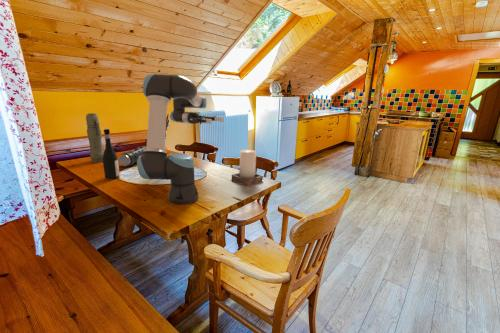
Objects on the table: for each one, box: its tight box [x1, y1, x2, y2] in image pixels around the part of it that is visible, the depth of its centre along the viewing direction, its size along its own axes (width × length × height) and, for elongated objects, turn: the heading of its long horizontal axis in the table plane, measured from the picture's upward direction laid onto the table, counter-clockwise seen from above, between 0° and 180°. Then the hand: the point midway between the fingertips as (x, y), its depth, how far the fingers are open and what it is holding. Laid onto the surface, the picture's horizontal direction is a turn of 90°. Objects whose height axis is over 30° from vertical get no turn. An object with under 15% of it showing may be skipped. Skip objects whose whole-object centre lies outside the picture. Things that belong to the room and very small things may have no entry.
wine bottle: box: [102, 128, 120, 180], centre depth 153 cm, size 8×8×30 cm
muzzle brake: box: [118, 145, 147, 167], centre depth 188 cm, size 10×28×10 cm, turn 174°
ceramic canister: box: [238, 149, 257, 180], centre depth 159 cm, size 10×10×18 cm
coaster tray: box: [231, 172, 264, 187], centre depth 161 cm, size 14×14×4 cm
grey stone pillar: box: [85, 112, 104, 164], centre depth 185 cm, size 9×12×35 cm
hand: (217, 120), depth 160 cm, fingers open, 13 cm apart
